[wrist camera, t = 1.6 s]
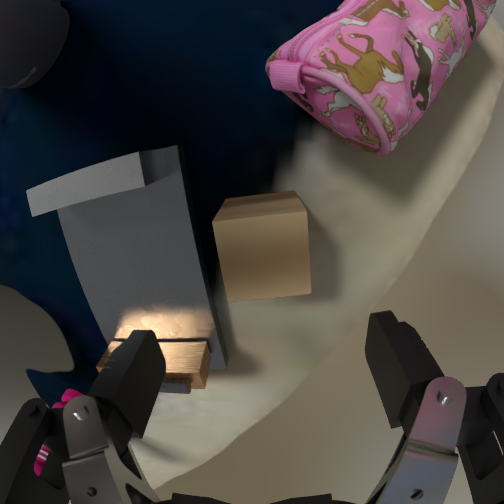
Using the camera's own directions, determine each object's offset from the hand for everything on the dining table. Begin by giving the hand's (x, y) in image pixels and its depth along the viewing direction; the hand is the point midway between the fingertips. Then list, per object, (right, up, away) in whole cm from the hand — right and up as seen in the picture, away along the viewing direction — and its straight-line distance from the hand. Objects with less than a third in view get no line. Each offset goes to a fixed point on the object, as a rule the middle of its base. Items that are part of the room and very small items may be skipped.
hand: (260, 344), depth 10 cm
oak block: (+1, +5, +11) cm, 12 cm away
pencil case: (+10, +20, +5) cm, 23 cm away
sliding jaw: (-9, -6, +14) cm, 18 cm away
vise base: (-10, +1, +13) cm, 17 cm away
